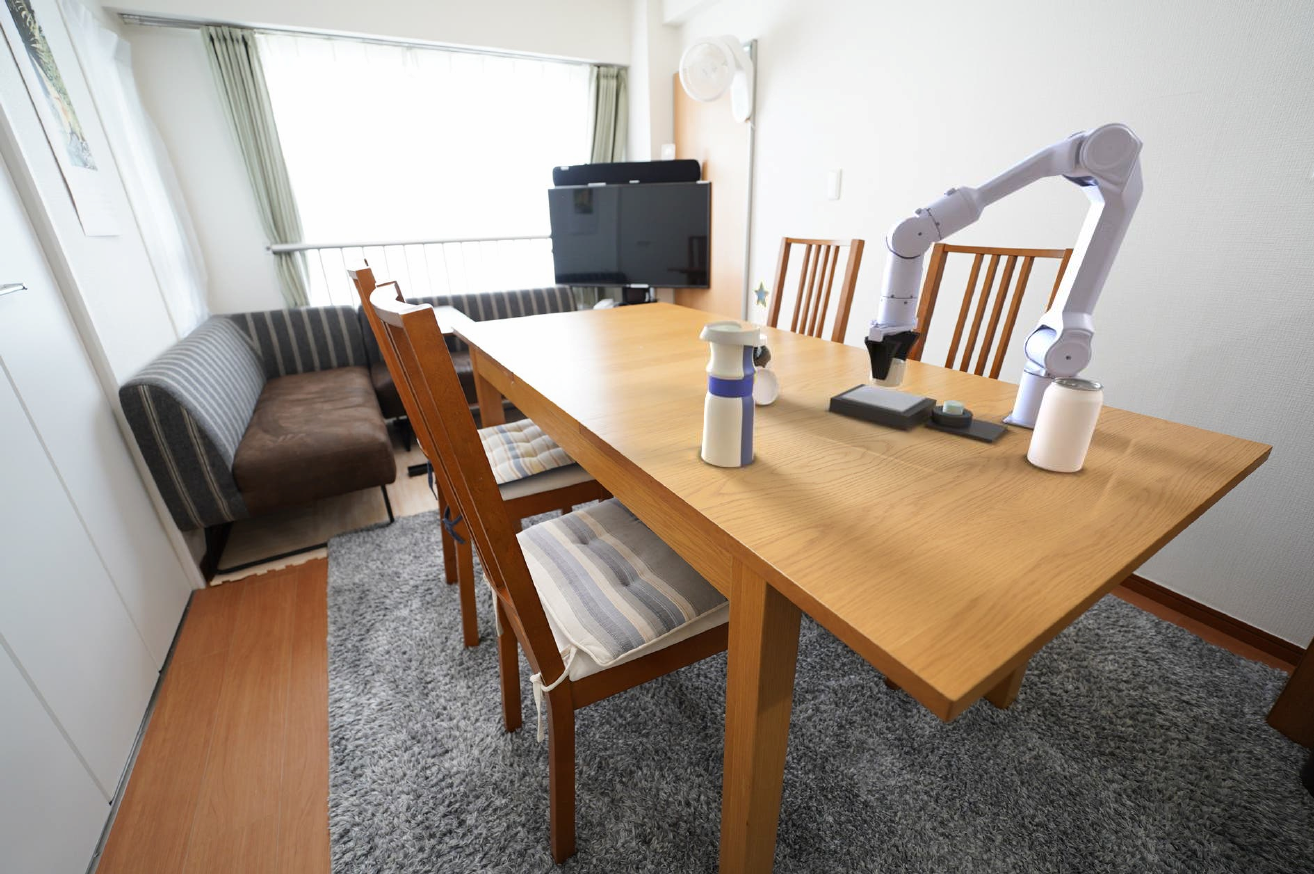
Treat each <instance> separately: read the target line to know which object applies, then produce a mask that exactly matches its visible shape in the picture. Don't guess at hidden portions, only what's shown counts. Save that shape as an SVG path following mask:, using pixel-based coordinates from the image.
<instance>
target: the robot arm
mask: <svg viewBox="0 0 1314 874" xmlns="http://www.w3.org/2000/svg"><path fill="white" fill-rule="evenodd" d="M1143 146H1144V142H1143V141H1142V140H1141V139H1140V138H1139V136H1138V135H1137V134H1136V133H1135V131H1134V130H1133V129H1132V128H1130V126H1128V125H1126V124H1124V123H1120V122H1110V123H1106V124H1104V125H1103V124H1102V125H1101V126H1099V127H1096V128H1093V129H1090V130H1085V131H1084V130H1083V131H1079V132H1075V133H1072V134H1071V135H1069V136H1067V138H1065V139H1061V140H1059V141H1055V142H1053V143H1051V144H1049V145H1047V146H1045V147H1043V148H1040V149H1038V150H1037V151H1035V152H1033V153H1032V154H1030V155H1029V156H1027V157H1025V158H1023V159H1022V160H1020V161H1018V162H1017V163H1015V164H1013V165H1011V166H1010V167H1008V168H1007V169H1005V170H1004V171H1002V172H1000V173H998V174H997V175H995V176H993V177H992V178H990V179H988V180H987V181H985V182H984V183H982V184H980V185H979V186H977V187H976V188H973V187H969V186H960V187H958V188H955V187H949V188H948V189H947V190H945V191H944V192H943V194H944V196H942V197H940V198H939V199H937V200H935V201H933V202H931V203H930V204H928V205H926V206H925V207H923V208H921V207H917V208H916V209H914V210H912V213H913V216H912V217H907V218H903V219H899V220H898V221H897V222H895V223H894V224H893V225H892V226H891V228H890V229H889V231H888V233H887V235H886V236H885V244H886V247H887V249H888V251H887V256H886V265H885V267H884V272H883V279H882V285H881V292H880V299H879V306H878V314H877V319H876V318H875V319H871V320H870V322H869V325H871V326H872V327H870V328H869V331H868V335H866V336H865V337H864V340H863V341H864V345H865V347H866V349H867V353H868V355H869V360H870V370H871V369H872V377H873V378H874V379H879V380H886V378H887V376H888V373H889V369H890V366H891V362H892V359H893V358H897V359H901V360H904V361H905V362H906V361H907V359H908V357H909V354H910V352H911V350H912V349H913V347H914V346H915V344H916V343H917V341H918V340H919V339H920V338H921V335H922V334H921V332H919V331H913V330H916V329H918V322H919V317H917V316H916V313H917V306H918V301H919V294H920V289H921V282H922V277H923V271H924V268H923V265H924V260H925V253H927V252H928V250H929V249H930V248H931V246H932V244H933V243H935V244H936V243H939V242H941V241H943V240H944V239H946V238H949V237H950V236H952V235H954V234H956V233H957V232H959V231H961V230H963V229H965V228H966V227H969V226H971V225H973V224H974V223H976V222H977V221H979V219H980V218H981V216H982V213H983V211H984V209H985V208H986V207H988V206H989V205H992V204H994V203H996V202H997V201H999V200H1001V199H1004V198H1005V197H1008V196H1009V195H1011V194H1013V193H1015V192H1017V191H1019V190H1021V189H1023V188H1025V187H1026V186H1029V185H1030V184H1032V183H1034V182H1036V181H1038V180H1041V179H1042V178H1050V177H1057V176H1060V177H1062V178H1064V179H1066V180H1067V181H1068V182H1070V183H1073V184H1075V185H1076V186H1078V187H1079V188H1080V189H1081V191H1082V192H1083V193H1084V195H1085V196H1086V197H1087V199H1088V200H1089V201H1090V203H1091V205H1090V208H1089V210H1088V212H1087V215H1086V218H1085V220H1084V223H1083V225H1082V228H1081V230H1080V233H1079V236H1078V238H1077V241H1076V242H1075V246H1074V248H1073V251H1072V254H1071V256H1070V258H1069V262H1068V263H1067V267H1066V269H1065V272H1064V274H1063V275H1062V279H1061V281H1060V285H1059V287H1058V290H1057V292H1056V293H1055V294H1056V295H1055V296H1054V299H1053V302H1052V305H1051V307H1050V308H1049V310H1048V311H1047V312H1046V313H1045V314H1043V315H1042V316H1041V317H1040V318H1039V321H1038V323H1037V325H1036V327H1035V329H1034V330H1032V331H1031V332H1030V333H1029V334H1028V335H1027V337H1026V338H1025V340H1024V343H1023V353H1024V355H1025V356H1026V358H1027V362H1026V363H1025V365H1024V368H1023V371H1022V375H1021V378H1020V383H1019V387H1018V390H1017V395H1016V399H1015V401H1014V402H1015V403H1014V406H1013V411H1012V412H1011V413H1010V414H1009V415H1007V416H1006V417H1005V418H1004V419H1003V423H1004V424H1009V425H1014V426H1018V427H1023V428H1027V429H1031V430H1034V428H1035V425H1036V421H1037V418H1038V414H1039V410H1040V407H1041V403H1042V400H1043V396H1044V393H1045V390H1046V389H1047V388H1048V387H1049V386H1050V385H1051V383H1052V379H1054V378H1077V379H1084V380H1089V381H1093V380H1092V378H1091V379H1090V378H1086V377H1082V376H1079V375H1078V374H1079V373H1081V372H1082V371H1083V370H1084V369H1086V368H1087V366H1088V365H1089V363H1090V361H1091V359H1092V356H1093V355H1092V354H1093V351H1092V341H1093V337H1094V335H1095V328H1094V323H1093V320H1092V314H1093V312H1094V310H1095V307H1096V305H1097V303H1098V300H1099V298H1100V295H1101V293H1102V291H1103V288H1104V286H1105V284H1106V282H1107V279H1108V278H1109V277H1108V276H1109V274H1110V271H1112V267H1113V264H1114V263H1115V260H1116V257H1117V255H1118V254H1119V250H1120V248H1121V246H1122V244H1123V241H1124V238H1125V236H1126V234H1127V232H1128V229H1129V227H1130V224H1131V222H1132V220H1133V217H1134V215H1135V212H1136V210H1137V208H1138V206H1139V203H1140V201H1141V198H1142V196H1143V192H1144V182H1143V181H1144V180H1143V172H1142V165H1141V158H1140V154H1141V152H1142V149H1143ZM906 363H907V362H906Z"/></svg>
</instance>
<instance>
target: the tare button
mask: <svg viewBox="0 0 1314 874" xmlns="http://www.w3.org/2000/svg"><path fill="white" fill-rule="evenodd" d="M943 405H944V406H943V411H942V412H944V413H947V414H951V415H962V414H963V409H964V408H965V403H964V402H961V401H958V400H952V399H951V400H949V399H948V400H945V401H943Z"/></svg>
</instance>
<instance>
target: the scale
mask: <svg viewBox="0 0 1314 874" xmlns="http://www.w3.org/2000/svg"><path fill="white" fill-rule="evenodd" d="M829 398H830V400H829V407H828V412H830V413H835V414H838V415H843V416H846V417H851V418H855V419H857V420H863V421H867V422H870V423H874V424H877V425H882V426H885V427H889V428H892V429H893V428H894V429H897V430H901V431H905V432H907V431H909V430H910V429H912V428H913V427H915V426H917V425H918V424H920V423H921V422H923V421H925V420H926V419H927V418H930V417H931V414H932V409H933V408H934V407H936V406H937V403H938V400H937V399H935V398H930V397H927V396H922V395H918V394H913V393H909V392H904V391H900V390H895V389H890V388H887V387H882V386H877V385H873V384H865V383H861V384H858V385H856V386H854V387H852V388H849V389H848V390H845V391H842V392H841V393H838V394H836V395H833V396H832V397H829Z"/></svg>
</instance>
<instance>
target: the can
mask: <svg viewBox="0 0 1314 874" xmlns="http://www.w3.org/2000/svg"><path fill="white" fill-rule="evenodd" d="M1103 389H1104V385H1103V384H1101V383H1099V382H1096V381H1093V380H1092V381H1089V380H1084V379H1077V378H1054V379H1052V383H1051V385H1050V386H1049V387H1048V388H1047V389H1046V390H1045V393H1044V396H1043V400H1042V403H1041V407H1040V410H1039V414H1038V418H1037V421H1036V425H1035V428H1034V429H1033V433H1032V436H1031V439H1030V444H1029V448H1028V451H1027V454H1026V458H1027V460H1028V461H1029V463H1031V464H1032V465H1033V466H1035V467H1037V468H1040V469H1042V470H1046V471H1049V472H1053V473H1054V472H1055V473H1060V474H1061V473H1062V474H1073V473H1077V472H1078V471H1080V470H1082V467H1083V465H1084V463H1085V459H1086V456H1087V453H1088V450H1089V447H1090V443H1091V440H1092V437H1093V436H1094V435H1093V434H1094V432H1095V428H1096V425H1097V422H1098V419H1099V416H1100V413H1101V409H1102V406H1103V403H1104V393H1103Z"/></svg>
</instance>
